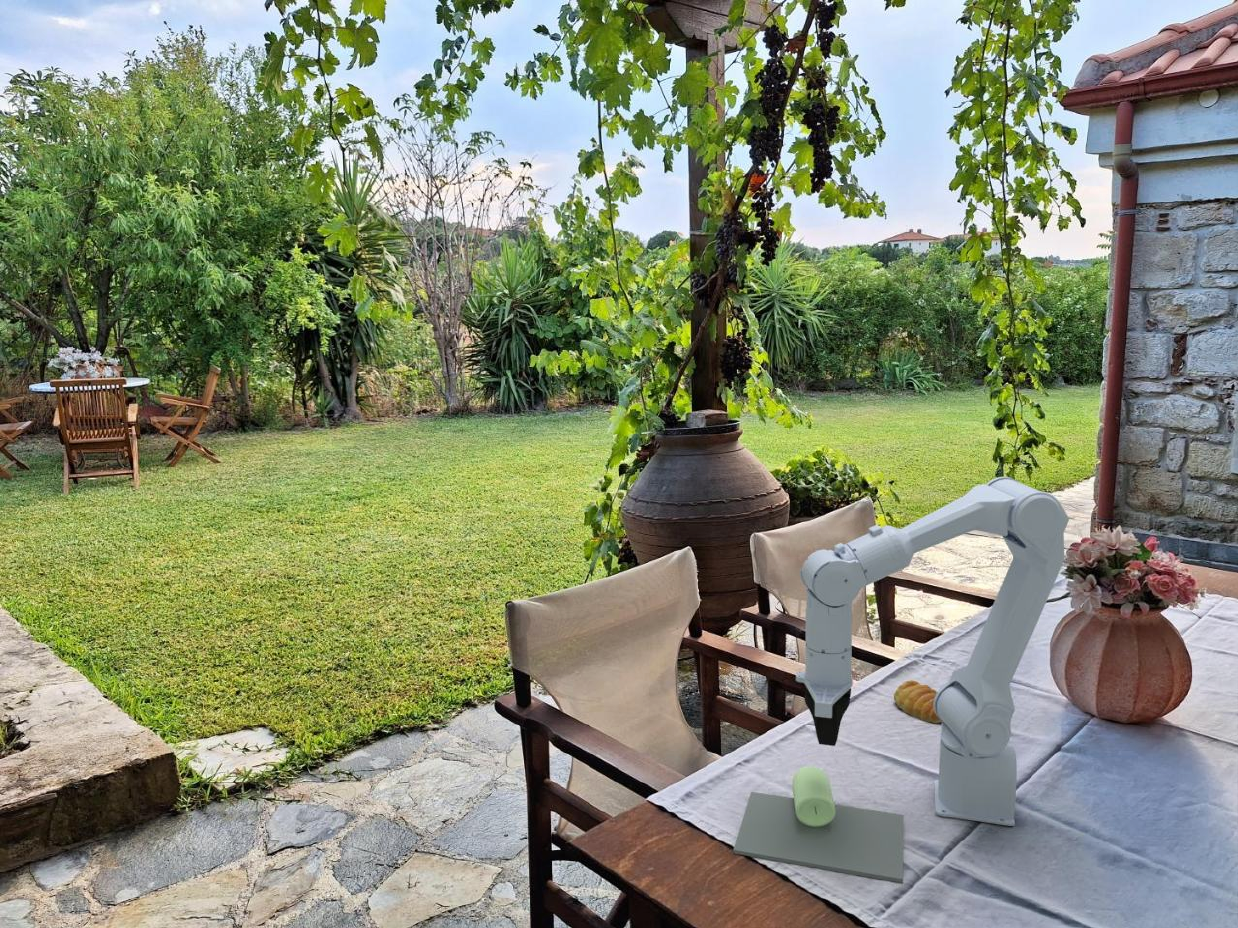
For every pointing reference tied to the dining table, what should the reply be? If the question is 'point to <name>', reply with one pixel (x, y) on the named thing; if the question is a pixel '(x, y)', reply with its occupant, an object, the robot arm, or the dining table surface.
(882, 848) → the mat
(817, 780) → the candle
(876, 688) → the dining table surface
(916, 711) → the pastry
